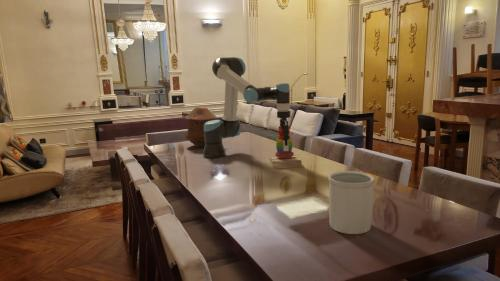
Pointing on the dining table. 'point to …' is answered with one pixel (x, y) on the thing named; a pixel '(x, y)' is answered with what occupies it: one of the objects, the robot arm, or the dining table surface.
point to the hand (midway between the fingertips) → (284, 149)
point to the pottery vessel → (198, 125)
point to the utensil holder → (350, 201)
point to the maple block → (285, 162)
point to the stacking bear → (279, 145)
